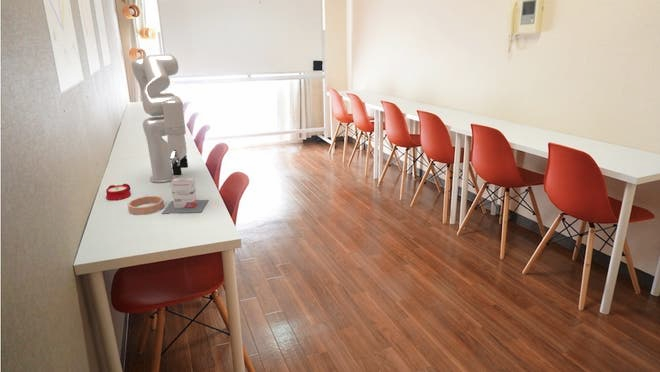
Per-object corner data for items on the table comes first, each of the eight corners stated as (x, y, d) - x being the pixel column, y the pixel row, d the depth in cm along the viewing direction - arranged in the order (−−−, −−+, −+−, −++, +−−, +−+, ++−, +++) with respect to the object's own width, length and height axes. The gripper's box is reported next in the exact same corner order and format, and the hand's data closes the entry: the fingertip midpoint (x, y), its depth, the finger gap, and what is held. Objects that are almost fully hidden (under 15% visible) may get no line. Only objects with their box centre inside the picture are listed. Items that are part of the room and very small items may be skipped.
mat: (171, 201, 192) (171, 200, 192) (208, 200, 193) (208, 199, 193) (161, 214, 179) (161, 213, 179) (201, 212, 179) (200, 211, 179)
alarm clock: (102, 195, 191) (105, 178, 203) (105, 207, 195) (108, 189, 207) (128, 192, 195) (129, 175, 207) (131, 203, 198) (132, 187, 210)
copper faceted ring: (136, 202, 191) (135, 196, 190) (167, 201, 192) (166, 195, 191) (123, 215, 179) (122, 208, 178) (157, 213, 179) (156, 207, 178)
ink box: (197, 203, 189) (194, 176, 185) (194, 207, 184) (191, 180, 180) (177, 203, 188) (173, 177, 185) (173, 208, 184) (169, 181, 180)
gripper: (172, 126, 183) (177, 165, 189) (159, 135, 167) (165, 178, 173) (190, 125, 183) (195, 164, 189) (179, 135, 167) (184, 177, 173)
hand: (180, 171), depth 181 cm, fingers open, 9 cm apart
